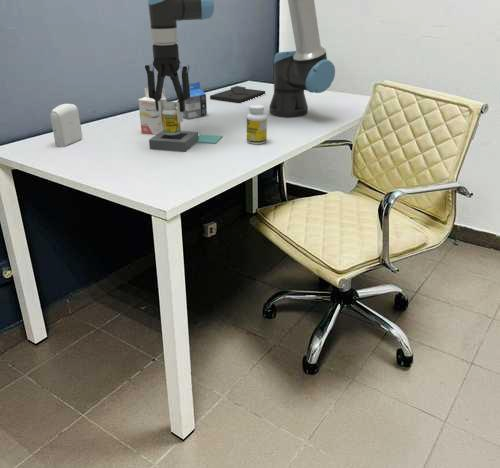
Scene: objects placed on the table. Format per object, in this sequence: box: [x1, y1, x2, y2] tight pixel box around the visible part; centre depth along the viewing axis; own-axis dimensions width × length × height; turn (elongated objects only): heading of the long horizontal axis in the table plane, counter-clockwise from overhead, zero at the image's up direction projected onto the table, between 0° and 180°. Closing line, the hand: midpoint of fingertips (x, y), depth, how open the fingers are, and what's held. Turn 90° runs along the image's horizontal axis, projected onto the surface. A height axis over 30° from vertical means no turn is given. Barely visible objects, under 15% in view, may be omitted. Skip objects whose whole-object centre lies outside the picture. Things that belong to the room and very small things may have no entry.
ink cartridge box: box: [138, 87, 168, 136], centre depth 173 cm, size 9×5×15 cm, turn 71°
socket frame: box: [148, 130, 199, 153], centre depth 163 cm, size 12×12×3 cm
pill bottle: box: [246, 104, 268, 145], centre depth 163 cm, size 6×6×12 cm
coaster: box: [196, 133, 223, 145], centre depth 168 cm, size 8×8×1 cm
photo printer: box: [49, 103, 83, 148], centre depth 164 cm, size 10×4×12 cm, turn 158°
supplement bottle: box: [162, 101, 182, 135], centre depth 160 cm, size 5×5×10 cm
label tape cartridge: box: [180, 81, 208, 120], centre depth 193 cm, size 9×4×12 cm, turn 131°
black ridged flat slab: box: [209, 85, 266, 104], centre depth 227 cm, size 16×3×21 cm
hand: (171, 121), depth 160 cm, fingers closed on supplement bottle, 5 cm apart
